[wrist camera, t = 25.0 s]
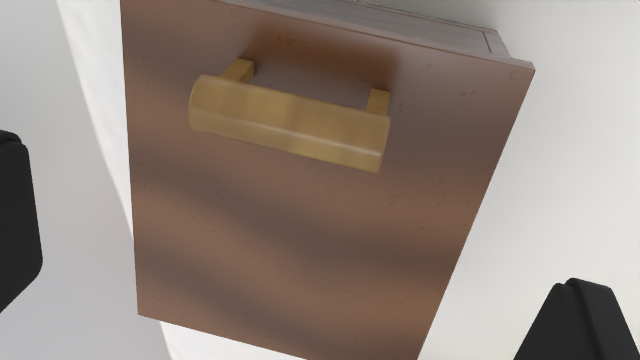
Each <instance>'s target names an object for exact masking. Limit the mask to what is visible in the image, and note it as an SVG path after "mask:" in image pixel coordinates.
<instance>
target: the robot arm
mask: <svg viewBox="0 0 640 360" xmlns="http://www.w3.org/2000/svg"><path fill="white" fill-rule="evenodd" d="M42 263H43V257H42V250H41V243H40V235H39V227H38V220H37V213H36V205H35V198H34V190H33V183H32V175H31V168H30V160H29V153H28V149H27V148H26V146H25V145H23V144H22V142H21V139H20V138H19V137H18V135H16V134H14V133H11V132H7V131H4V130H0V313H1V312H2V311H3V310H4V309H5V308H6V307H7V306H8V305H9V304H10V303H11V302H12V301H13V300H14V299H15V298H16V297H17V296H18V295H19V294H20V293H21V292H22V291H23V290H24V289H25V288H26V287H27V286H28V285H29V284H30V283H31V282H32V281H33V280H34V279H35V278H36V277H37V276H38V274H39V272H40V270H41V267H42ZM513 360H640V354H639V352H638V349H637V347H636V345H635V342H634V340H633V338H632V335H631V333H630V330H629V328H628V326H627V323H626V321H625V319H624V316H623V314H622V312H621V309H620V307H619V304H618V302H617V300H616V297H615V295H614V293H613V291H612V290H611V288H609V287H607V286H604V285H600V284H596V283H592V282H588V281H584V280H581V279H577V278H570V279H569V280H567V281H566V283H565V284H561V283H556V284H555V285H554V286H553V287H552V289H551V291H550V292H549V294H548V296H547V298H546V300H545V302H544V304H543V305H542V307H541V309H540V311H539V313H538V315H537V317H536V318H535V320H534V322H533V324H532V326H531V328H530V330H529V331H528V333H527V335H526V337H525V339H524V341H523V342H522V344H521V346H520V348H519V350H518V352H517V354H516V355H515V357H514V359H513Z"/></svg>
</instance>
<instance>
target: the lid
mask: <svg viewBox="0 0 640 360" xmlns="http://www.w3.org/2000/svg"><path fill="white" fill-rule="evenodd" d="M120 10H121V27H122V45H123V62H124V79H125V97H126V114H127V131H128V149H129V166H130V183H131V201H132V218H133V235H134V253H135V270H136V286H137V304H138V315H141V316H145V317H149V318H153V319H156V320H160V321H164V322H167V323H171V324H175V325H179V326H183V327H186V328H190V329H194V330H198V331H201V332H205V333H209V334H213V335H216V336H220V337H224V338H228V339H232V340H235V341H239V342H243V343H247V344H250V345H254V346H258V347H262V348H265V349H269V350H273V351H277V352H281V353H284V354H288V355H292V356H296V357H299V358H303V359H307V360H417V359H418V356H419V354H420V351H421V349H422V347H423V344H424V342H425V339H426V337H427V334H428V332H429V330H430V327H431V325H432V322H433V320H434V317H435V315H436V312H437V310H438V308H439V305H440V303H441V300H442V298H443V295H444V293H445V290H446V288H447V286H448V283H449V281H450V278H451V276H452V273H453V271H454V269H455V266H456V264H457V261H458V259H459V256H460V254H461V251H462V249H463V247H464V244H465V242H466V239H467V237H468V234H469V232H470V230H471V227H472V225H473V222H474V220H475V217H476V215H477V212H478V210H479V208H480V205H481V203H482V200H483V198H484V195H485V193H486V190H487V188H488V186H489V183H490V181H491V178H492V176H493V173H494V171H495V169H496V166H497V164H498V161H499V159H500V156H501V154H502V151H503V149H504V147H505V144H506V142H507V139H508V137H509V134H510V132H511V130H512V127H513V125H514V122H515V120H516V117H517V115H518V112H519V110H520V108H521V105H522V103H523V100H524V98H525V95H526V93H527V91H528V88H529V86H530V83H531V81H532V78H533V76H534V73H535V68H534V66H533V63H532V62H528V61H524V60H519V59H514V58H510V57H505V56H501V55H496V54H491V53H487V52H482V51H477V50H473V49H468V48H464V47H459V46H454V45H450V44H445V43H440V42H436V41H431V40H427V39H422V38H417V37H413V36H408V35H403V34H399V33H394V32H390V31H385V30H380V29H376V28H371V27H366V26H362V25H357V24H353V23H348V22H343V21H339V20H334V19H329V18H325V17H320V16H315V15H311V14H306V13H302V12H297V11H292V10H288V9H283V8H278V7H274V6H269V5H265V4H260V3H255V2H251V1H246V0H120Z"/></svg>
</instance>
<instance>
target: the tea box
mask: <svg viewBox="0 0 640 360" xmlns="http://www.w3.org/2000/svg"><path fill="white" fill-rule="evenodd" d="M246 1H251V2H255V3H260V4H265V5H269V6H274V7H278V8H283V9H288V10H292V11H297V12H302V13H306V14H311V15H315V16H320V17H325V18H329V19H334V20H339V21H343V22H348V23H353V24H357V25H362V26H366V27H371V28H376V29H380V30H385V31H390V32H394V33H399V34H403V35H408V36H413V37H417V38H422V39H427V40H431V41H436V42H440V43H445V44H450V45H454V46H459V47H464V48H468V49H473V50H477V51H482V52H487V53H491V54H496V55H501V56H505V57H510V55H509V53H508V51H507V49H506V47H505V45H504V43H503V41H502V39H501V37H500V36H499V34H498V32H497V31H494V30H489V29H484V28H479V27H475V26H470V25H465V24H461V23H456V22H451V21H447V20H442V19H437V18H432V17H428V16H423V15H418V14H414V13H409V12H404V11H400V10H395V9H390V8H385V7H381V6H376V5H371V4H367V3H362V2H357V1H353V0H246ZM510 58H511V57H510Z"/></svg>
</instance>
